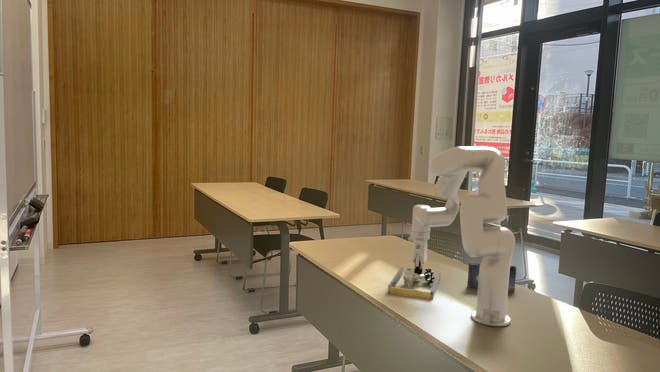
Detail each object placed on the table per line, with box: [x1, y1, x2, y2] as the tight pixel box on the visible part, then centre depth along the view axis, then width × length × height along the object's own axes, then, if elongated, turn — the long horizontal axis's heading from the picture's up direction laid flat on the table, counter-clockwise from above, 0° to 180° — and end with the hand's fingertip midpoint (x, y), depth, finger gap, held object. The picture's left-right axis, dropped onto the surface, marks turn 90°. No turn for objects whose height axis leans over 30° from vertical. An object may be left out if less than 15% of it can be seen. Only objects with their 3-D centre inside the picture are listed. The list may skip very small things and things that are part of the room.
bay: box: [387, 266, 442, 301], centre depth 200 cm, size 28×17×3 cm, turn 162°
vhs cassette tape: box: [466, 262, 517, 292], centre depth 199 cm, size 18×3×10 cm, turn 84°
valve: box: [402, 267, 435, 287], centre depth 201 cm, size 7×7×12 cm
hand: (417, 277), depth 207 cm, fingers closed
